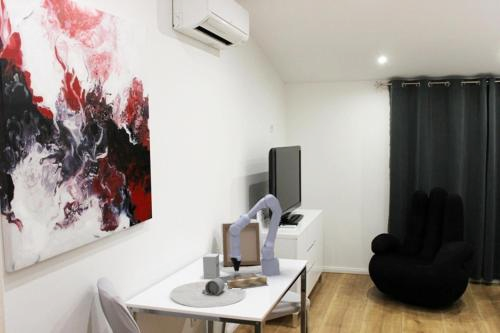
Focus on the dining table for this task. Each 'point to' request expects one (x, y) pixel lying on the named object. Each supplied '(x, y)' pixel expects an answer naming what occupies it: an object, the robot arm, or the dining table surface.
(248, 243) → the photo frame
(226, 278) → the bench mat
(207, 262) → the supplement box
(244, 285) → the bench fence
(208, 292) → the ceramic mug
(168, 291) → the dining table surface
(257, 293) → the dining table surface
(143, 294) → the dining table surface
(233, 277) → the grey flat piece
